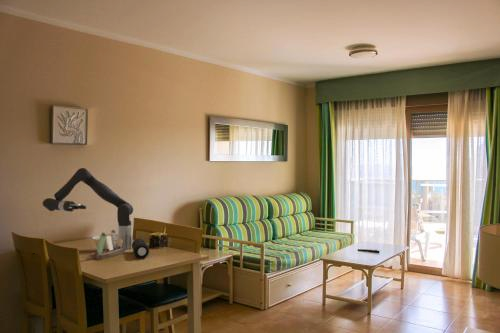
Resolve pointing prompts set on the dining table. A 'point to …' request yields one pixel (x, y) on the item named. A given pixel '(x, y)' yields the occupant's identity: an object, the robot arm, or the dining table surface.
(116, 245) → the steel lever
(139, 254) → the portable speaker
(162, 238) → the candle
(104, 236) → the green lever
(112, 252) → the switch bank
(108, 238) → the cream paddle
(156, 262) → the dining table surface
